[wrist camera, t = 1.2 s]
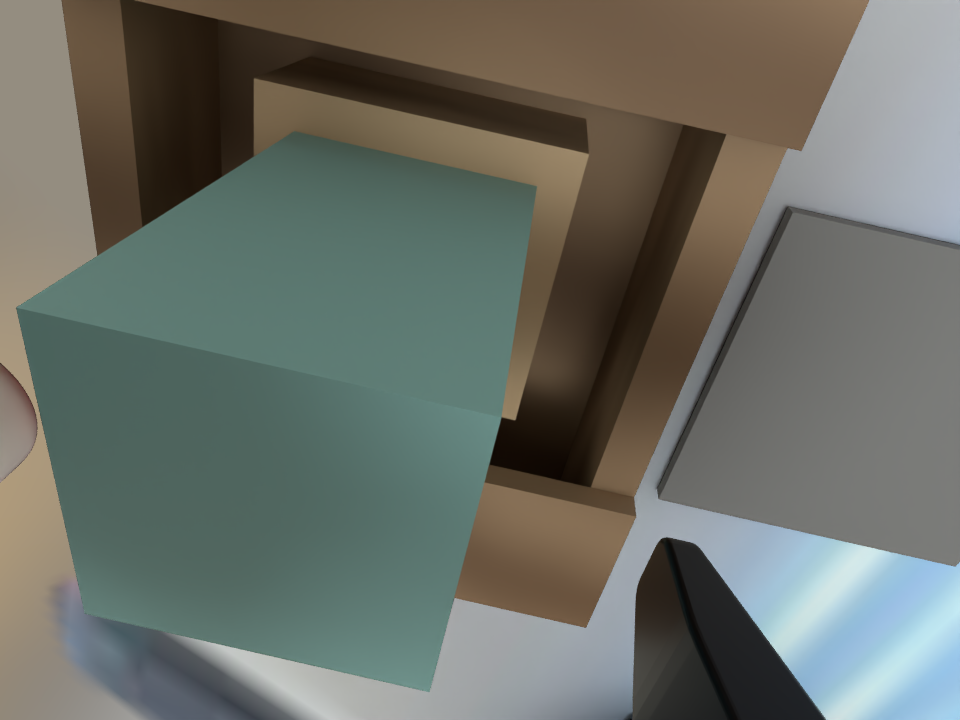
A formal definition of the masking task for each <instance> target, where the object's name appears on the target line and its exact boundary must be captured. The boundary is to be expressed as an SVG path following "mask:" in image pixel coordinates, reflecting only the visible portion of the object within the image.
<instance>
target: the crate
mask: <svg viewBox="0 0 960 720" xmlns="http://www.w3.org/2000/svg"><path fill="white" fill-rule="evenodd" d="M868 2H869V0H62V6H63V13H64V21H65V28H66V35H67V42H68V48H69V56H70V64H71V70H72V77H73V85H74V91H75V99H76V106H77V112H78V120H79V127H80V135H81V142H82V149H83V156H84V163H85V170H86V177H87V184H88V191H89V198H90V206H91V213H92V220H93V227H94V234H95V241H96V249H97V256H98V255H100V254H101V253H103V252H105V251H106V250H108V249H109V248H111V247H112V246H114V245H116V244H117V243H119V242H120V241H122V240H123V239H125V238H127V237H128V236H130V235H131V234H133V233H134V232H136V231H138V230H139V229H141V228H142V227H144V226H146V225H147V224H149V223H150V222H152V221H153V220H155V219H157V218H158V217H160V216H161V215H163V214H164V213H166V212H168V211H169V210H171V209H172V208H174V207H175V206H177V205H179V204H180V203H182V202H183V201H185V200H187V199H188V198H190V197H191V196H193V195H194V194H196V193H198V192H199V191H201V190H202V189H204V188H205V187H207V186H209V185H210V184H212V183H213V182H215V181H216V180H218V179H220V178H221V177H223V176H224V175H226V174H227V173H229V172H231V171H232V170H234V169H235V168H237V167H239V166H240V165H242V164H243V163H245V162H246V161H248V160H250V159H251V158H253V157H254V156H256V155H257V154H259V153H261V152H262V151H264V150H265V149H267V148H268V147H270V146H272V145H273V144H275V143H276V142H278V141H280V140H281V139H283V138H284V137H286V136H287V135H289V134H291V133H292V132H294V131H296V132H300V133H305V134H309V135H313V136H318V137H322V138H327V139H331V140H336V141H340V142H344V143H349V144H353V145H358V146H362V147H366V148H371V149H375V150H380V151H384V152H389V153H393V154H397V155H402V156H406V157H411V158H415V159H419V160H424V161H428V162H433V163H437V164H442V165H446V166H450V167H455V168H459V169H464V170H468V171H472V172H477V173H481V174H486V175H490V176H495V177H499V178H503V179H508V180H512V181H517V182H521V183H526V184H530V185H534V186H537V190H536V197H535V203H534V210H533V216H532V223H531V229H530V236H529V242H528V249H527V255H526V261H525V268H524V274H523V281H522V287H521V294H520V300H519V307H518V313H517V320H516V326H515V333H514V339H513V345H512V352H511V358H510V365H509V371H508V378H507V384H506V391H505V397H504V404H503V410H502V416H501V421H500V425H499V428H498V432H497V436H496V440H495V444H494V448H493V451H492V455H491V459H490V463H489V467H488V470H487V474H486V478H485V482H484V486H483V489H482V493H481V497H480V501H479V505H478V509H477V512H476V516H475V520H474V524H473V528H472V531H471V535H470V539H469V543H468V547H467V551H466V554H465V558H464V562H463V566H462V570H461V573H460V577H459V581H458V585H457V589H456V593H455V596H454V598H457V599H462V600H466V601H471V602H475V603H479V604H484V605H488V606H493V607H497V608H501V609H506V610H510V611H515V612H519V613H523V614H528V615H532V616H537V617H541V618H545V619H550V620H554V621H558V622H563V623H567V624H572V625H576V626H580V627H585V628H586V627H587V624H588V622H589V620H590V618H591V616H592V613H593V611H594V609H595V607H596V604H597V602H598V600H599V598H600V596H601V593H602V591H603V589H604V587H605V585H606V582H607V580H608V578H609V576H610V573H611V571H612V569H613V567H614V565H615V562H616V560H617V558H618V556H619V554H620V551H621V549H622V547H623V545H624V542H625V540H626V538H627V536H628V534H629V531H630V529H631V527H632V525H633V523H634V520H635V518H636V511H635V502H634V496H635V494H636V492H637V489H638V487H639V485H640V483H641V480H642V478H643V476H644V473H645V471H646V469H647V467H648V464H649V462H650V460H651V457H652V455H653V453H654V451H655V448H656V446H657V444H658V442H659V439H660V437H661V435H662V432H663V430H664V428H665V426H666V423H667V421H668V419H669V416H670V414H671V412H672V410H673V407H674V405H675V403H676V401H677V398H678V396H679V394H680V391H681V389H682V387H683V385H684V382H685V380H686V378H687V375H688V373H689V371H690V369H691V366H692V364H693V362H694V360H695V357H696V355H697V353H698V350H699V348H700V346H701V344H702V341H703V339H704V337H705V334H706V332H707V330H708V328H709V325H710V323H711V321H712V319H713V316H714V314H715V312H716V309H717V307H718V305H719V303H720V300H721V298H722V296H723V293H724V291H725V289H726V287H727V284H728V282H729V280H730V278H731V275H732V273H733V271H734V268H735V266H736V264H737V262H738V259H739V257H740V255H741V252H742V250H743V248H744V246H745V243H746V241H747V239H748V237H749V234H750V232H751V230H752V227H753V225H754V223H755V221H756V218H757V216H758V214H759V211H760V209H761V207H762V205H763V202H764V200H765V198H766V196H767V193H768V191H769V189H770V186H771V184H772V182H773V180H774V177H775V175H776V173H777V171H778V168H779V166H780V164H781V161H782V159H783V157H784V155H785V152H786V150H787V148H790V149H795V150H799V151H802V148H803V146H804V144H805V142H806V139H807V137H808V135H809V133H810V131H811V128H812V126H813V124H814V122H815V120H816V117H817V115H818V113H819V111H820V108H821V106H822V104H823V102H824V100H825V97H826V95H827V93H828V91H829V89H830V86H831V84H832V82H833V80H834V77H835V75H836V73H837V71H838V69H839V66H840V64H841V62H842V60H843V58H844V55H845V53H846V51H847V49H848V46H849V44H850V42H851V40H852V38H853V35H854V33H855V31H856V29H857V27H858V24H859V22H860V20H861V18H862V15H863V13H864V11H865V9H866V7H867V4H868Z"/></svg>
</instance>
